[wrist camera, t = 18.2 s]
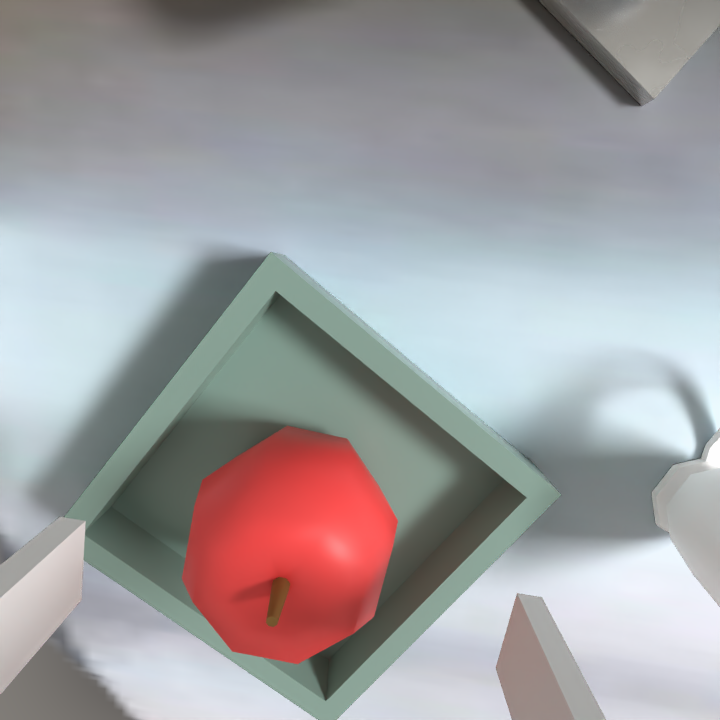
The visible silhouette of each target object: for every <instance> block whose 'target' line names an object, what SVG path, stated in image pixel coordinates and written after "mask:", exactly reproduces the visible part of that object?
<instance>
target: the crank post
mask: <svg viewBox="0 0 720 720" xmlns="http://www.w3.org/2000/svg"><path fill="white" fill-rule="evenodd" d="M538 1H539V2H540V3H541V4H542V5H543V6H544V7H545V8H546V9H547V10H548V11H549V12H550V13H551V14H552V15H553V16H554V17H555V18H556V19H557V20H558V21H559V22H560V23H561V24H562V25H563V26H564V27H565V28H566V29H567V30H568V31H569V32H570V33H571V34H572V35H573V36H574V37H575V38H576V39H577V40H578V41H579V43H580V44H581V45H582V46H583V47H584V48H585V49H586V50H587V51H588V52H589V53H590V54H591V55H592V56H593V57H594V58H595V59H596V60H597V61H598V62H599V63H600V64H601V65H602V66H603V67H604V68H605V69H606V70H607V71H608V72H609V73H610V74H611V75H612V76H613V77H614V78H615V79H616V80H617V81H618V82H619V83H620V84H621V85H622V86H623V87H624V88H625V89H626V91H627V92H628V93H629V94H630V95H631V96H632V97H633V98H634V99H635V100H636V101H637V102H638V103H639V104H640V105H641V106H643V105H645V104H647V103H648V102H650V101H652V100H653V99H655V98H656V97H657V95H658V94H659V93H660V92H661V91H662V90H663V89H664V88H665V86H666V85H667V84H668V83H669V82H670V81H671V80H672V78H673V77H674V76H675V75H676V74H677V73H678V72H679V71H680V69H681V68H682V67H683V66H684V65H685V64H686V63H687V61H688V60H689V59H690V58H691V57H692V56H693V55H694V54H695V52H696V51H697V50H698V49H699V48H700V47H701V46H702V44H703V43H704V42H705V41H706V40H707V39H708V38H709V37H710V35H711V34H712V33H713V32H714V31H715V30H716V29H717V28H718V26H719V25H720V0H538Z"/></svg>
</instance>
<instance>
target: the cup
mask: <svg viewBox="0 0 720 720" xmlns="http://www.w3.org/2000/svg"><path fill="white" fill-rule="evenodd" d="M651 494H652V501H653V509H654V516H655V524H656V525H658V526H659V527H660V528H662V529H663V530H665V531H667V532H668V533H670V539H671V541H672V542H673V544H674V545H675V547H676V549H677V550H678V552H679V553H680V555H681V556H682V558H683V560H684V561H685V563H686V564H687V566H688V568H689V569H690V571H691V572H692V574H693V575H694V577H695V578H696V579H697V580H698V581H699V583H700V584H701V585H702V586H703V587H704V589H705V590H706V591H707V592H708V594H709V595H710V596H711V597H712V598H713V600H714V601H715V602H716V603H717V604H718V606H719V607H720V428H719V430H718V431H717V432H716V433H715V434H714V435H713V437H712V438H711V439H710V440H709V441H708V442H707V444H706V445H705V448H704V451H703V453H702V456H701V458H700V459H696V460H692V461H687V462H683V463H678V464H674V465H673V466H672V467H671V468H670V470H669V471H668V472H667V473H666V475H665V476H664V477H663V479H662V480H661V481H660V482H659V484H658V485H657V486H656V487H655V489H654V490H653V491H652V493H651Z"/></svg>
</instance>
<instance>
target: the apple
mask: <svg viewBox="0 0 720 720" xmlns="http://www.w3.org/2000/svg"><path fill="white" fill-rule="evenodd" d="M397 523H398V520H397V518H396V516H395V514H394V512H393V511H392V509H391V507H390V505H389V503H388V501H387V500H386V498H385V496H384V494H383V492H382V490H381V489H380V487H379V485H378V484H377V482H376V481H375V479H374V478H373V476H372V475H371V473H370V472H369V470H368V469H367V467H366V466H365V464H364V463H363V461H362V460H361V458H360V457H359V455H358V454H357V452H356V451H355V449H354V448H353V446H352V445H351V443H350V442H349V440H348V439H347V438H342V437H337V436H333V435H328V434H324V433H319V432H314V431H310V430H305V429H300V428H296V427H291V426H286V427H284V428H282V429H281V430H279V431H278V432H276V433H274V434H273V435H271V436H269V437H268V438H266V439H264V440H263V441H261V442H259V443H258V444H256V445H255V446H253V447H251V448H250V449H248V450H246V451H245V452H243V453H241V454H240V455H238V456H237V457H235V458H234V459H232V460H231V461H229V462H228V463H226V464H225V465H223V466H222V467H220V468H219V469H217V470H216V471H215V472H213V473H212V474H210V475H209V476H207V477H206V478H204V479H203V480H202V483H201V486H200V489H199V492H198V496H197V499H196V502H195V505H194V511H193V517H192V523H191V528H190V534H189V540H188V546H187V552H186V557H185V563H184V569H183V575H182V580H183V582H184V585H185V587H186V589H187V591H188V593H189V595H190V598H191V600H192V602H193V603H194V604H195V606H196V607H197V608H198V609H199V611H200V612H201V613H202V614H203V616H204V617H205V618H206V620H207V621H208V622H209V623H210V625H211V626H212V627H213V628H214V630H215V631H216V632H217V633H218V635H219V636H220V637H221V638H222V640H223V641H224V642H225V643H226V645H227V646H228V647H229V648H230V650H231V651H232V652H237V653H242V654H247V655H252V656H258V657H263V658H268V659H273V660H279V661H284V662H289V663H294V664H299V663H300V662H302V661H304V660H306V659H308V658H310V657H311V656H313V655H315V654H317V653H319V652H321V651H323V650H324V649H326V648H328V647H330V646H332V645H334V644H335V643H337V642H339V641H341V640H343V639H345V638H346V637H348V636H350V635H352V634H354V633H355V632H356V631H357V630H359V629H360V628H361V627H362V626H363V625H365V624H366V623H367V622H368V621H370V620H371V619H372V618H373V617H374V615H375V611H376V607H377V604H378V600H379V596H380V593H381V589H382V585H383V582H384V578H385V574H386V570H387V567H388V563H389V559H390V556H391V552H392V548H393V544H394V539H395V533H396V528H397Z"/></svg>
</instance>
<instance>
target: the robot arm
mask: <svg viewBox="0 0 720 720" xmlns="http://www.w3.org/2000/svg"><path fill="white" fill-rule="evenodd" d="M85 523H86V521H83V520H77V519H71V518H65V517H59V518H58V519H56V520H55V521H54V522H53V523H52V524H50V525H49V526H48V527H47V528H45V529H44V530H43V531H42V532H40V533H39V534H38V535H37V536H36V537H34V538H33V539H32V540H31V541H29V542H28V543H27V544H26V545H25V546H23V547H22V548H21V549H20V550H18V551H17V552H16V553H15V554H13V555H12V556H11V557H10V558H9V559H7V560H6V561H5V562H4V563H2V564H1V565H0V694H1V693H2V692H3V691H4V690H5V688H6V687H7V686H8V685H9V684H10V683H11V681H12V680H13V679H14V678H15V677H16V676H17V674H18V673H19V672H20V671H21V670H22V669H23V667H24V666H25V665H26V664H27V663H28V662H29V660H30V659H31V658H32V657H33V656H34V655H35V653H36V652H37V651H38V650H39V648H41V646H42V645H43V644H44V643H45V642H46V641H47V640H48V638H49V637H50V636H51V635H52V634H53V633H54V631H55V630H56V629H57V628H58V627H59V626H60V624H61V623H62V622H63V621H64V620H65V619H66V617H67V616H68V615H69V614H70V613H71V612H72V610H73V609H74V608H75V607H76V606H77V605H78V603H79V602H80V601H81V597H82V578H83V560H84V542H85ZM496 671H497V674H498V677H499V680H500V683H501V686H502V689H503V693H504V696H505V699H506V702H507V705H508V708H509V712H510V715H511V718H512V720H606V719H605V717H604V715H603V713H602V711H601V709H600V707H599V705H598V703H597V702H596V700H595V698H594V696H593V694H592V692H591V690H590V688H589V686H588V684H587V682H586V681H585V679H584V677H583V675H582V673H581V671H580V669H579V667H578V665H577V663H576V662H575V660H574V658H573V656H572V654H571V652H570V650H569V648H568V646H567V644H566V642H565V641H564V639H563V637H562V635H561V633H560V631H559V629H558V627H557V625H556V623H555V621H554V620H553V618H552V616H551V614H550V612H549V610H548V608H547V606H546V604H545V602H544V600H543V599H542V597H537V596H531V595H525V594H519V593H517V596H516V599H515V602H514V606H513V609H512V613H511V616H510V620H509V623H508V627H507V630H506V634H505V637H504V641H503V644H502V648H501V651H500V655H499V658H498V662H497V665H496Z"/></svg>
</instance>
